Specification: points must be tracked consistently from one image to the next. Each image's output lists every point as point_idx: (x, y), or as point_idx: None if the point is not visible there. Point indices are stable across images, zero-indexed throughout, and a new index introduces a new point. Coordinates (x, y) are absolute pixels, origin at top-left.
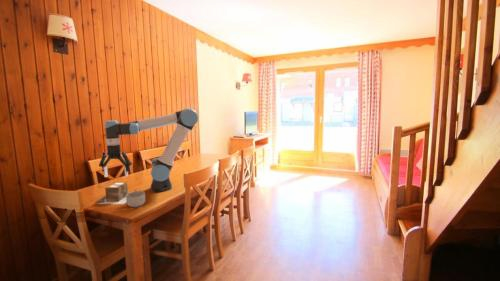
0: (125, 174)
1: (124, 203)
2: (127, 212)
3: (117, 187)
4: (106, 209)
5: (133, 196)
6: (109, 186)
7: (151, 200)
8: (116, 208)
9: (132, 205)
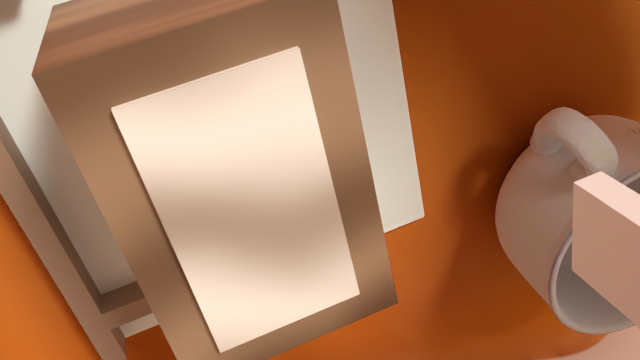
0: (630, 303)
1: (421, 206)
2: (541, 304)
3: (374, 287)
4: (334, 348)
5: (553, 185)
6: (187, 315)
7: (636, 7)
8: (407, 297)
9: (570, 262)
